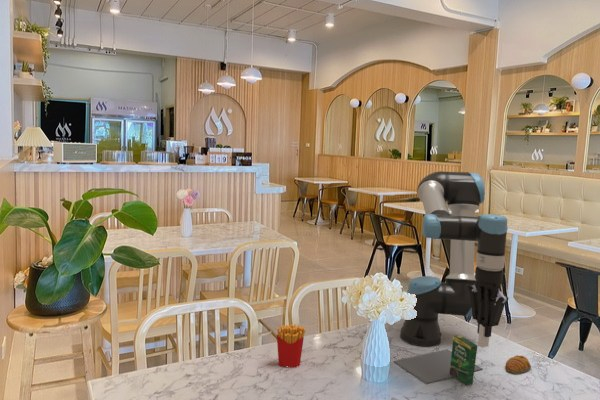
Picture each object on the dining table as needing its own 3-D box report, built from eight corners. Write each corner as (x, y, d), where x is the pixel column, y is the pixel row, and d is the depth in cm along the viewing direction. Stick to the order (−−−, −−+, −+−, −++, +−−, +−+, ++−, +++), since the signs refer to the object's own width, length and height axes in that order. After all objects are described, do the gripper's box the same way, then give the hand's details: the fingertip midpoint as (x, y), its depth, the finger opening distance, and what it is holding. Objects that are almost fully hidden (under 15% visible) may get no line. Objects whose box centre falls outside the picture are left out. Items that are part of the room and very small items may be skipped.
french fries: (275, 367, 152) (277, 328, 150) (276, 361, 156) (277, 323, 155) (304, 367, 152) (305, 329, 151) (303, 361, 157) (305, 324, 155)
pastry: (519, 378, 151) (520, 366, 150) (499, 370, 156) (500, 359, 155) (532, 369, 157) (533, 358, 157) (512, 362, 162) (513, 351, 162)
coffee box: (447, 372, 151) (452, 334, 149) (454, 371, 152) (459, 333, 150) (465, 386, 144) (471, 346, 141) (473, 385, 145) (478, 345, 143)
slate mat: (393, 362, 158) (393, 360, 158) (447, 350, 169) (447, 349, 169) (426, 384, 144) (426, 383, 144) (482, 369, 155) (482, 368, 155)
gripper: (463, 263, 141) (457, 339, 143) (498, 274, 129) (492, 356, 132) (481, 261, 144) (475, 335, 147) (517, 272, 133) (510, 352, 135)
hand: (483, 345), depth 139 cm, fingers closed
